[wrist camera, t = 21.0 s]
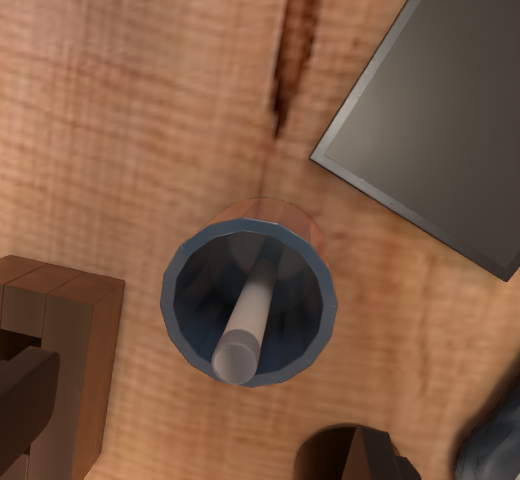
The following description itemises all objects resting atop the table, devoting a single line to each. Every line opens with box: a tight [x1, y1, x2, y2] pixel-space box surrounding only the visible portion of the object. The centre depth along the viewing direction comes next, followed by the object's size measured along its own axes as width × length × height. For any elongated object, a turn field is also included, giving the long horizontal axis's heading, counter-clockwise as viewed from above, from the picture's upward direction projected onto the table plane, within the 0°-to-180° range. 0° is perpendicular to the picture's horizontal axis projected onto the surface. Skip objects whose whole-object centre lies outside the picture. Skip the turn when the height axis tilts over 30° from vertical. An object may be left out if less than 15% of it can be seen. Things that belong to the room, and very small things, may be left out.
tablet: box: [309, 0, 520, 282], centre depth 24 cm, size 13×19×1 cm
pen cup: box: [160, 197, 338, 388], centre depth 24 cm, size 8×8×8 cm
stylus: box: [212, 258, 278, 385], centre depth 22 cm, size 2×2×12 cm
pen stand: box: [0, 255, 125, 480], centre depth 28 cm, size 8×13×4 cm, turn 169°
